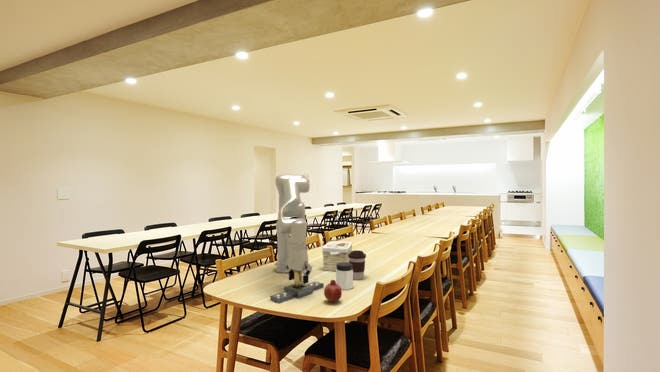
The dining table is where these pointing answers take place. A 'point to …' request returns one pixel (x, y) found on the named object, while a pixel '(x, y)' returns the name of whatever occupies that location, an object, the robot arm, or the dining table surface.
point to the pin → (298, 279)
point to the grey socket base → (296, 292)
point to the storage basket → (335, 254)
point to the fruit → (332, 291)
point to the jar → (344, 275)
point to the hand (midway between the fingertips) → (298, 281)
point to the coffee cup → (357, 264)
